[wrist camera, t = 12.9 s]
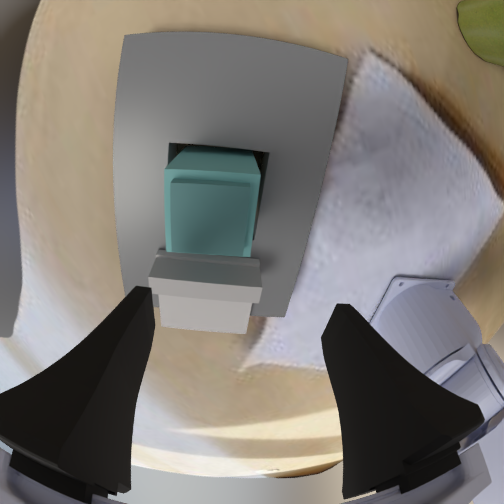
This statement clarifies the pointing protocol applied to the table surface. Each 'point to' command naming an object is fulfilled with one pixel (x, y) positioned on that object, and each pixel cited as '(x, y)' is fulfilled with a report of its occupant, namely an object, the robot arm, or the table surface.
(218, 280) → the white stepped block
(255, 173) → the plug
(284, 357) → the table surface
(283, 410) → the table surface
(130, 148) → the socket plate
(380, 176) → the table surface
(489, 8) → the plant pot
